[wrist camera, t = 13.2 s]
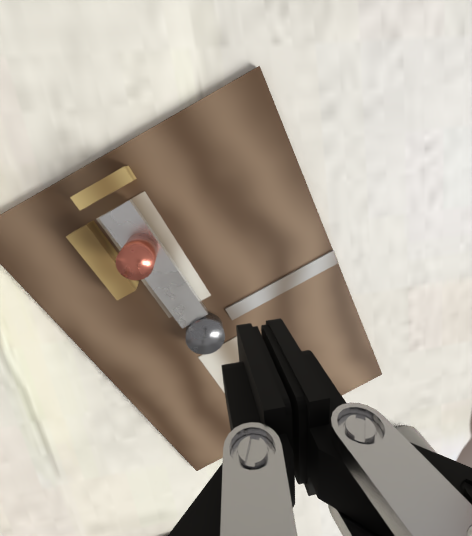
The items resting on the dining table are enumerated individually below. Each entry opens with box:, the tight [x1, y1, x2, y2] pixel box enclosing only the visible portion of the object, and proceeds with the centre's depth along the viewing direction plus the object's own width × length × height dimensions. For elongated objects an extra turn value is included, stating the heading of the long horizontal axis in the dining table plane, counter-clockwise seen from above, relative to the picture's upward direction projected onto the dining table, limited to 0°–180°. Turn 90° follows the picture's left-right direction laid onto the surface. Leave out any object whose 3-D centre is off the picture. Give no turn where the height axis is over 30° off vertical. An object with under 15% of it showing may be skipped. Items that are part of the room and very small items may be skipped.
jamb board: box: [0, 66, 382, 471], centre depth 31 cm, size 28×38×3 cm
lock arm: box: [99, 199, 225, 355], centre depth 27 cm, size 17×4×5 cm, turn 28°
